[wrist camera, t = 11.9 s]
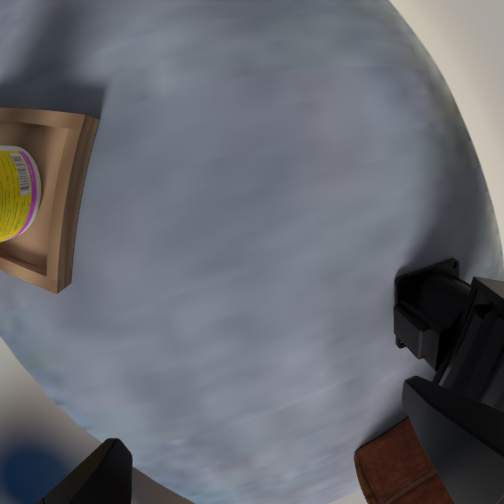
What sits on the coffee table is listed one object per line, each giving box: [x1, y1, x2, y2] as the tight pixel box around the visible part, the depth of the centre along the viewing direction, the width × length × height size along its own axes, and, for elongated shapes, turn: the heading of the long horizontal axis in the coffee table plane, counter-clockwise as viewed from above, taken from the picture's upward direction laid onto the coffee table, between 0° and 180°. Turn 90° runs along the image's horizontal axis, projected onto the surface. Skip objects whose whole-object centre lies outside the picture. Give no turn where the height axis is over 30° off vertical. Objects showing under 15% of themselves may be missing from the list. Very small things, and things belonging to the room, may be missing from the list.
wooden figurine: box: [354, 417, 455, 504], centre depth 17 cm, size 12×6×18 cm, turn 127°
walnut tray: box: [0, 107, 100, 294], centre depth 16 cm, size 12×12×2 cm
